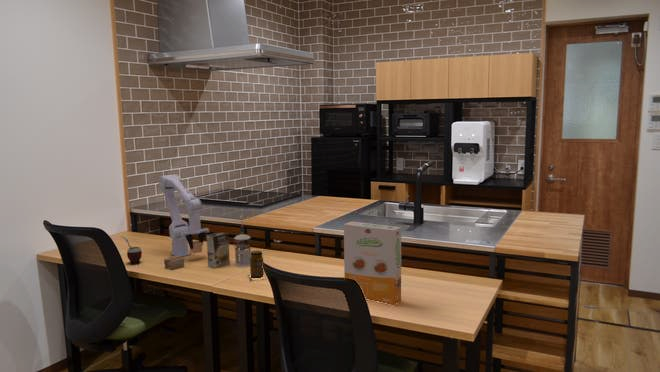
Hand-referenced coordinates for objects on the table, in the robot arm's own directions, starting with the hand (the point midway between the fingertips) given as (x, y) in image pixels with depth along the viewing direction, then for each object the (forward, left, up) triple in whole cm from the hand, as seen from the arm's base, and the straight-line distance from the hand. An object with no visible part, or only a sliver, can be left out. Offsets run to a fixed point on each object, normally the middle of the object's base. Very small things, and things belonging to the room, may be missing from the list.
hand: (196, 247), depth 267 cm
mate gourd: (-16, -27, -7) cm, 32 cm away
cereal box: (+102, +29, -7) cm, 106 cm away
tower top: (+5, -14, -4) cm, 16 cm away
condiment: (+47, +8, -7) cm, 48 cm away
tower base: (+5, -14, -7) cm, 17 cm away
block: (0, 0, -2) cm, 2 cm away
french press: (+23, +14, -7) cm, 28 cm away
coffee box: (+17, +4, -7) cm, 19 cm away
